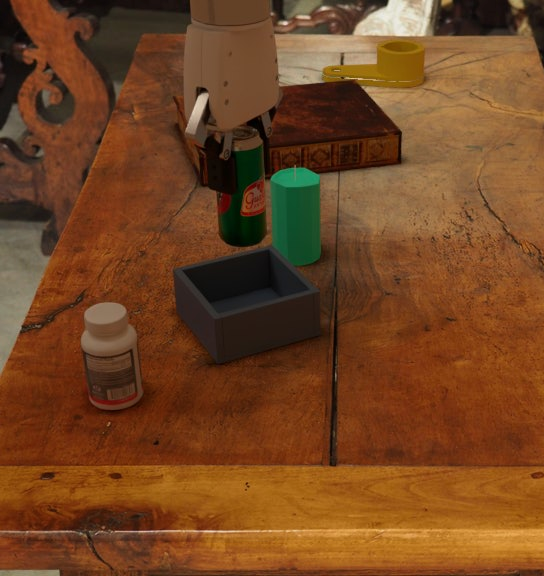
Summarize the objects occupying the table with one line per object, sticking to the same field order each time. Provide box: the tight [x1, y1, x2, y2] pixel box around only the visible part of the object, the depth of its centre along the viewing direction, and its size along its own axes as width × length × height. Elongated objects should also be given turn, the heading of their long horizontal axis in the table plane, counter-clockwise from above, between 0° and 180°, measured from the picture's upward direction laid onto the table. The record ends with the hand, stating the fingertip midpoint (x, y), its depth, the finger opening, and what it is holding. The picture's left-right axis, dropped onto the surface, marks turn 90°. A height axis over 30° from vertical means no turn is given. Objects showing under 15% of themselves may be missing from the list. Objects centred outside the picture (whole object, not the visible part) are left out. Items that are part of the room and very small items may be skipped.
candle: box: [269, 165, 322, 267], centre depth 130 cm, size 6×6×12 cm
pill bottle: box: [80, 301, 144, 411], centre depth 104 cm, size 5×5×10 cm
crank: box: [322, 39, 426, 89], centre depth 190 cm, size 18×8×6 cm, turn 91°
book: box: [172, 80, 403, 187], centre depth 163 cm, size 30×24×5 cm
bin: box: [172, 244, 322, 365], centre depth 118 cm, size 12×12×6 cm
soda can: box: [215, 125, 268, 248], centre depth 111 cm, size 5×5×12 cm
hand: (239, 179), depth 110 cm, fingers closed on soda can, 5 cm apart
